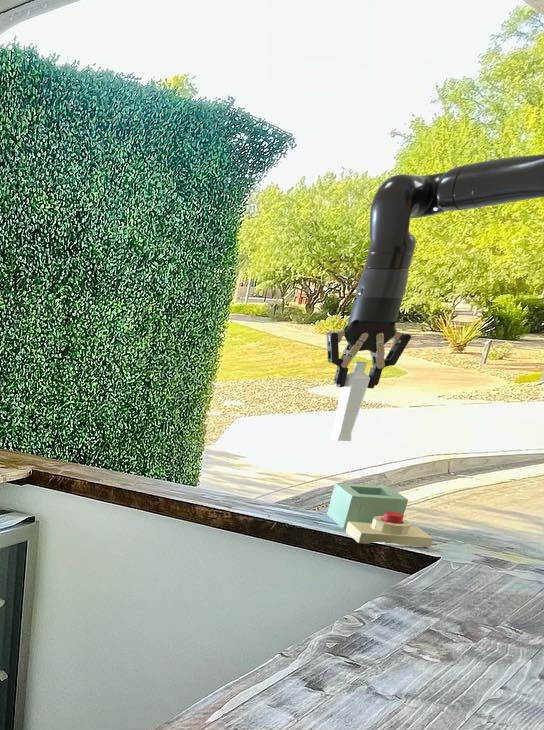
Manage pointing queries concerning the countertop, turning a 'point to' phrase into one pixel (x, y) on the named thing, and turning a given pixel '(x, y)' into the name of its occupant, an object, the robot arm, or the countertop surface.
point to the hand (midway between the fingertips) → (354, 386)
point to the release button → (393, 517)
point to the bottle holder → (363, 503)
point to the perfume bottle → (350, 402)
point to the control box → (388, 533)
